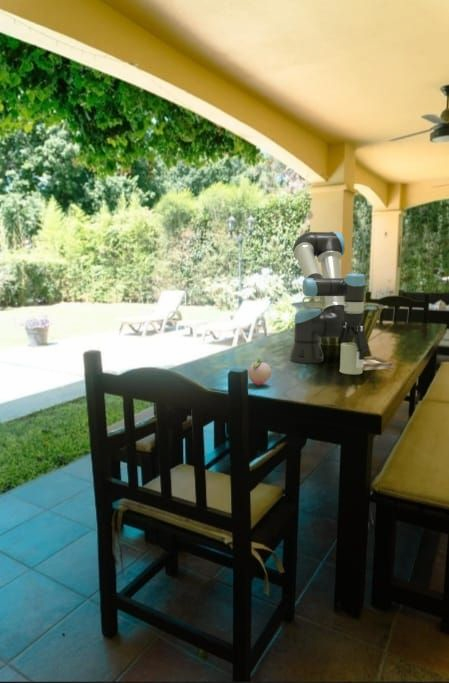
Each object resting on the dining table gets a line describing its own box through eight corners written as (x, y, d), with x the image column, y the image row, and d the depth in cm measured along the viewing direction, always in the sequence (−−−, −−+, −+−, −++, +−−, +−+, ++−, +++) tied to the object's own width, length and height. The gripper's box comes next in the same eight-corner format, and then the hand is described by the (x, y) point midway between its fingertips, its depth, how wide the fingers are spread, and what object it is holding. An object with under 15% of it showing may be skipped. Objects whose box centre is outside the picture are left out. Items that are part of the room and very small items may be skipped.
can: (350, 375, 181) (351, 345, 179) (334, 370, 189) (335, 342, 187) (367, 372, 185) (368, 343, 183) (351, 368, 193) (352, 340, 191)
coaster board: (362, 370, 189) (363, 364, 189) (346, 363, 203) (346, 357, 202) (392, 368, 192) (393, 362, 192) (374, 361, 206) (375, 356, 205)
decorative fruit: (269, 389, 161) (270, 362, 159) (247, 388, 162) (247, 361, 160) (271, 383, 170) (272, 356, 168) (250, 382, 171) (250, 356, 170)
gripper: (331, 309, 194) (329, 358, 197) (361, 315, 170) (358, 371, 173) (347, 309, 196) (345, 357, 199) (379, 315, 172) (376, 369, 175)
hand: (351, 363), depth 186 cm, fingers open, 13 cm apart
